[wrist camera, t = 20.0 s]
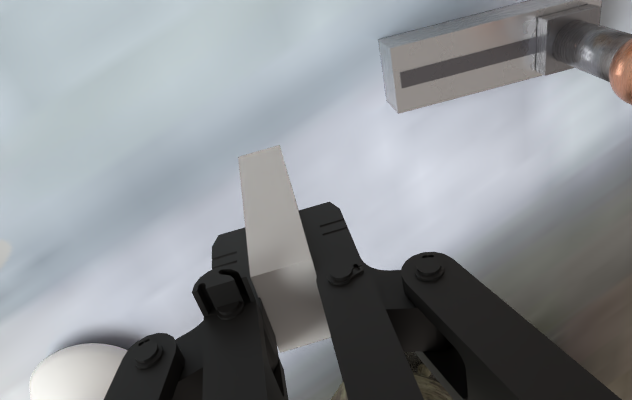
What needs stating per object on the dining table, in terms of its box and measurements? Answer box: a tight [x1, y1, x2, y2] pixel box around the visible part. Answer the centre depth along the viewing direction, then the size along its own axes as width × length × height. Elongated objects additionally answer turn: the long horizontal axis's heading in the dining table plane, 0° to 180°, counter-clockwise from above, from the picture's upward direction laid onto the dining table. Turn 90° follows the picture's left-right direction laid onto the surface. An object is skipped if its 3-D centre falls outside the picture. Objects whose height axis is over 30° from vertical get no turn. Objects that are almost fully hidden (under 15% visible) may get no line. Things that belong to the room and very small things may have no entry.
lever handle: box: [536, 4, 632, 105], centre depth 31 cm, size 4×4×11 cm
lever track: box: [378, 0, 602, 114], centre depth 37 cm, size 5×16×3 cm, turn 102°
